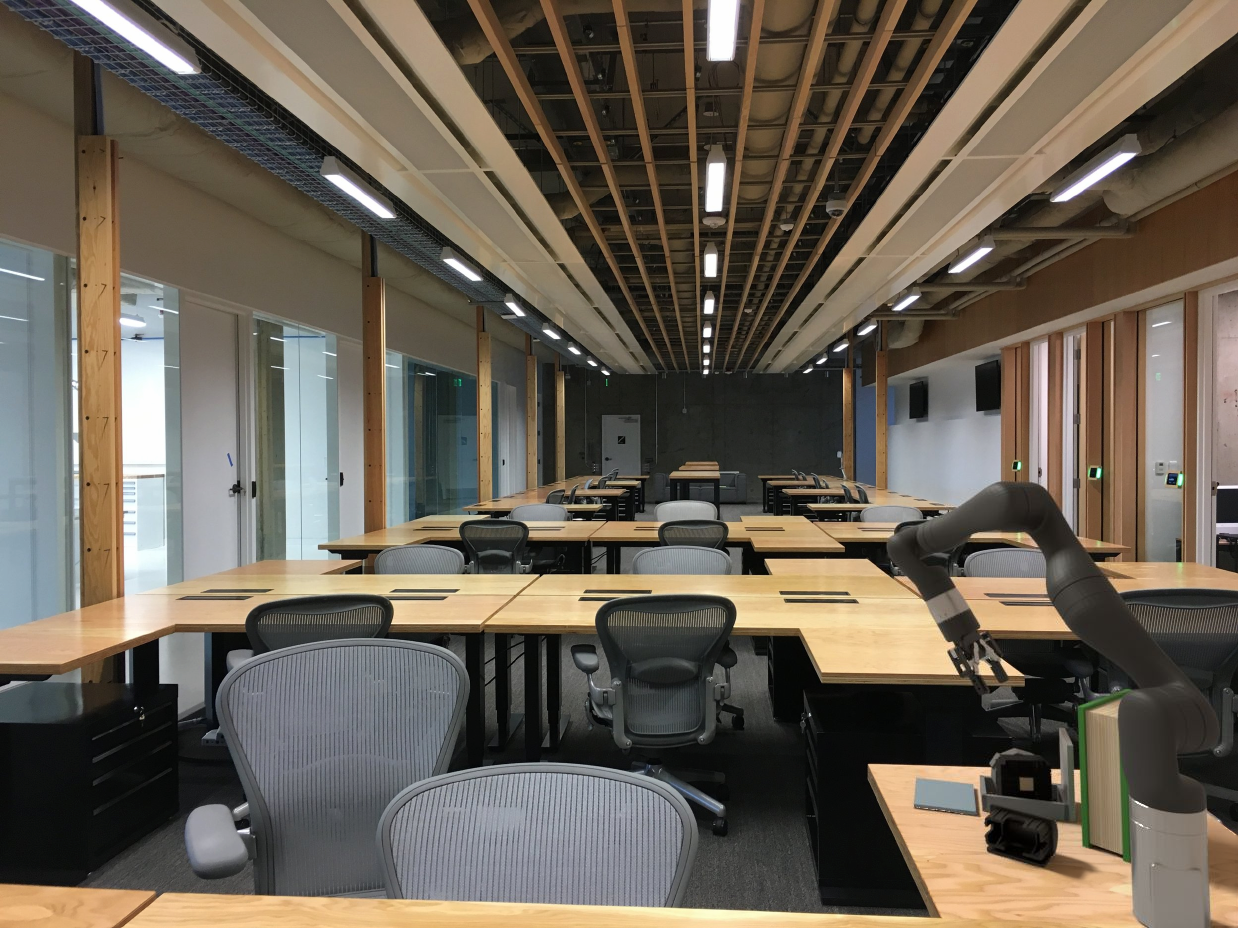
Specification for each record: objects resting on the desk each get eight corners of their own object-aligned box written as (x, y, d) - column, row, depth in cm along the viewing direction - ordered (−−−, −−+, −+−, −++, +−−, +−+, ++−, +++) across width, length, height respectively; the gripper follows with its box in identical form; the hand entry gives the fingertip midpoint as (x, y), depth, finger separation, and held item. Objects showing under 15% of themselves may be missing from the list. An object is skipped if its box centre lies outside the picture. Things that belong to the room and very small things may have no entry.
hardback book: (1129, 862, 131) (1124, 716, 131) (1082, 845, 137) (1077, 706, 138) (1176, 833, 141) (1171, 697, 141) (1131, 819, 147) (1126, 688, 147)
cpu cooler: (1045, 799, 156) (1043, 748, 157) (1056, 812, 151) (1055, 758, 151) (989, 798, 158) (988, 746, 158) (999, 810, 152) (997, 757, 152)
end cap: (1059, 854, 135) (1058, 813, 135) (1046, 869, 130) (1045, 828, 130) (997, 836, 142) (996, 798, 142) (982, 851, 137) (981, 811, 137)
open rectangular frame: (1075, 822, 146) (1073, 745, 147) (982, 810, 152) (980, 737, 152) (1067, 799, 156) (1064, 728, 156) (980, 789, 162) (977, 720, 162)
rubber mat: (976, 815, 150) (975, 811, 150) (913, 807, 154) (913, 803, 154) (973, 787, 163) (973, 783, 163) (916, 781, 167) (916, 777, 167)
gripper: (949, 615, 160) (994, 692, 155) (983, 600, 169) (1026, 671, 164) (920, 629, 165) (963, 703, 160) (954, 613, 175) (996, 683, 169)
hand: (995, 687), depth 162 cm, fingers open, 8 cm apart
